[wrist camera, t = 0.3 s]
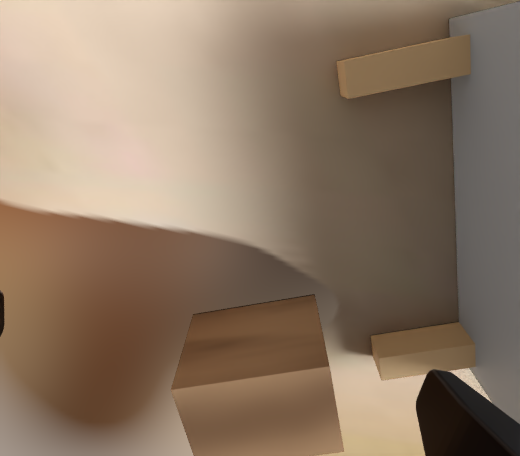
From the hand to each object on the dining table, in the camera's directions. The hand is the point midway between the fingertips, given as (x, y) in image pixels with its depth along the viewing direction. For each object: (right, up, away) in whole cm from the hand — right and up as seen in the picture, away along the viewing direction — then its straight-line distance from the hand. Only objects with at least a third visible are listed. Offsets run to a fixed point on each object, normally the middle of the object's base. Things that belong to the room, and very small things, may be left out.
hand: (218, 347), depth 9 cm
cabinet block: (+1, -4, +16) cm, 16 cm away
